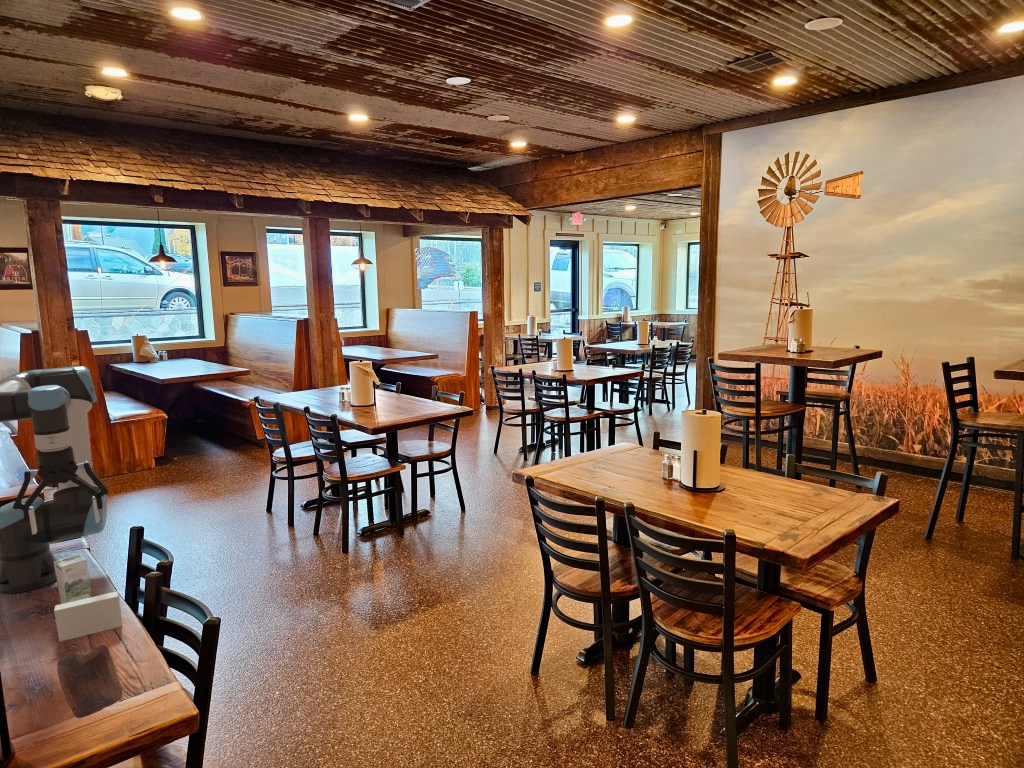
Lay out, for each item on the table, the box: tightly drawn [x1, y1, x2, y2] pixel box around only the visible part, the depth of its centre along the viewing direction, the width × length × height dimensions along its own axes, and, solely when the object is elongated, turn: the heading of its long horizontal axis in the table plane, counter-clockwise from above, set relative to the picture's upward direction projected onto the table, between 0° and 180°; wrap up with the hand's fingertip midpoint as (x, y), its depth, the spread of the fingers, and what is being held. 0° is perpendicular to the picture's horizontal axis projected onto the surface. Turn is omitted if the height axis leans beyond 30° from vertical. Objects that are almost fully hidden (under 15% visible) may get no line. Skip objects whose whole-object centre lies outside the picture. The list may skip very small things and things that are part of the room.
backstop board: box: [53, 590, 123, 643], centre depth 162 cm, size 3×13×8 cm, turn 120°
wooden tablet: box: [57, 644, 123, 718], centre depth 143 cm, size 26×2×10 cm
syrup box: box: [54, 553, 93, 604], centre depth 171 cm, size 6×6×14 cm
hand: (66, 526), depth 172 cm, fingers open, 13 cm apart
